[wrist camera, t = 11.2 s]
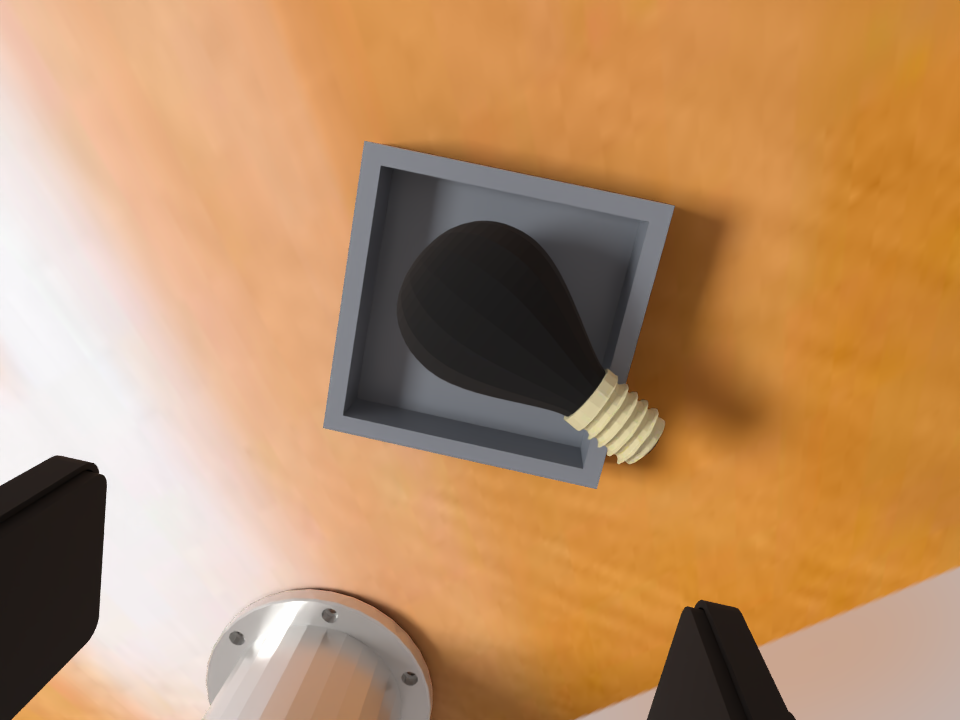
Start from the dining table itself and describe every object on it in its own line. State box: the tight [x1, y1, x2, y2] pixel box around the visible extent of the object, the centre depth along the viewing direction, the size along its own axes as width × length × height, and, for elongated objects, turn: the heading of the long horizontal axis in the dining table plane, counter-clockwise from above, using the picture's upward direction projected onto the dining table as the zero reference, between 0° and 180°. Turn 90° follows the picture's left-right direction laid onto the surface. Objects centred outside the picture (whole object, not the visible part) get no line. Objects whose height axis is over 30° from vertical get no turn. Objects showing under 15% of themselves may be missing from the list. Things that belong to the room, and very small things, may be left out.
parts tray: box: [323, 141, 675, 489], centre depth 30 cm, size 13×13×3 cm
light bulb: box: [397, 221, 665, 464], centre depth 27 cm, size 7×7×12 cm
